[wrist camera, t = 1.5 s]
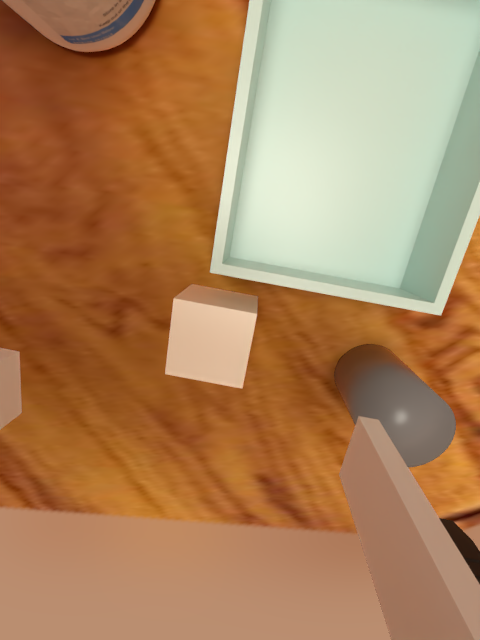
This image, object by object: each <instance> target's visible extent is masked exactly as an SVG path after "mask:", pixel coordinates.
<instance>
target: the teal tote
mask: <svg viewBox="0 0 480 640" xmlns="http://www.w3.org/2000/svg"><path fill="white" fill-rule="evenodd" d="M479 215H480V0H250V1H249V8H248V15H247V21H246V28H245V35H244V42H243V49H242V56H241V62H240V69H239V76H238V83H237V90H236V97H235V103H234V110H233V117H232V124H231V131H230V138H229V144H228V151H227V158H226V165H225V172H224V179H223V186H222V192H221V199H220V206H219V213H218V220H217V227H216V233H215V240H214V247H213V254H212V261H211V268H210V273H215V274H220V275H225V276H231V277H236V278H242V279H247V280H252V281H258V282H263V283H268V284H274V285H279V286H285V287H290V288H295V289H301V290H306V291H312V292H317V293H322V294H328V295H333V296H339V297H344V298H349V299H355V300H360V301H366V302H371V303H376V304H382V305H387V306H392V307H398V308H403V309H409V310H414V311H419V312H425V313H430V314H436V315H441V314H442V312H443V309H444V306H445V304H446V301H447V299H448V296H449V293H450V291H451V288H452V286H453V283H454V280H455V278H456V275H457V272H458V270H459V267H460V265H461V262H462V259H463V257H464V254H465V252H466V249H467V246H468V244H469V241H470V239H471V236H472V233H473V231H474V228H475V226H476V223H477V220H478V218H479Z"/></svg>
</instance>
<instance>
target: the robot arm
mask: <svg viewBox="0 0 480 640" xmlns="http://www.w3.org/2000/svg"><path fill="white" fill-rule="evenodd" d="M21 413H22V403H21V378H20V352H19V351H15V350H9V349H4V348H0V429H2V428H3V427H4V426H5V425H7V424H8V423H9V422H11V421H12V420H13V419H15V418H16V417H17V416H19V415H20V414H21ZM339 475H340V479H341V482H342V485H343V488H344V491H345V494H346V498H347V501H348V504H349V507H350V510H351V514H352V517H353V520H354V523H355V526H356V529H357V533H358V536H359V539H360V542H361V545H362V548H363V552H364V555H365V557H366V561H367V564H368V567H369V571H370V574H371V577H372V580H373V583H374V586H375V590H376V593H377V596H378V599H379V602H380V605H381V609H382V612H383V615H384V618H385V621H386V624H387V628H388V631H389V634H390V637H391V640H480V551H479V550H478V548H477V547H476V545H475V544H474V542H473V541H472V540H471V539H470V538H469V537H468V536H467V535H466V534H465V533H464V532H463V531H462V530H461V529H460V528H459V527H458V526H457V525H456V524H455V523H454V522H453V521H451V520H446V519H441V518H439V517H438V516H437V514H436V512H435V511H434V509H433V507H432V506H431V504H430V503H429V501H428V499H427V498H426V496H425V494H424V493H423V491H422V490H421V488H420V486H419V485H418V483H417V481H416V480H415V478H414V477H413V475H412V473H411V472H410V470H409V468H408V467H407V465H406V464H405V462H404V460H403V459H402V457H401V455H400V454H399V452H398V450H397V449H396V447H395V446H394V444H393V442H392V441H391V439H390V437H389V436H388V434H387V433H386V431H385V429H384V428H383V426H382V424H381V423H380V421H379V420H377V419H372V418H366V417H361V416H358V419H357V422H356V425H355V428H354V431H353V434H352V437H351V440H350V443H349V446H348V449H347V452H346V455H345V458H344V461H343V464H342V467H341V470H340V473H339Z"/></svg>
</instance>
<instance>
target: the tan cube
mask: <svg viewBox="0 0 480 640" xmlns="http://www.w3.org/2000/svg"><path fill="white" fill-rule="evenodd" d="M257 309H258V296H254V295H249V294H243V293H238V292H233V291H227V290H222V289H217V288H211V287H206V286H201V285H195V284H191V285H190V286H188V287H187V288H186V289H185V290H183V291H182V292H181V293H180V294H178V295H177V296H176V297H175V298H174V299H173V308H172V317H171V325H170V334H169V343H168V352H167V360H166V369H165V374H168V375H173V376H178V377H184V378H189V379H194V380H199V381H205V382H210V383H215V384H220V385H226V386H231V387H236V388H241V389H242V388H243V383H244V378H245V373H246V368H247V363H248V358H249V353H250V348H251V343H252V338H253V333H254V328H255V323H256V318H257Z"/></svg>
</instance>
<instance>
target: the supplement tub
mask: <svg viewBox="0 0 480 640" xmlns="http://www.w3.org/2000/svg"><path fill="white" fill-rule="evenodd" d="M2 1H3V2H5V3H6V4H7V5H8V6H9V7H10V8H11V9H13V10H14V11H15V12H16V13H17V14H18V15H20V16H21V17H22V18H23V19H24V20H25V21H27V22H28V23H29V24H30V25H32V26H33V27H34V28H35V29H36V30H37V31H39V32H40V33H41V34H42V35H44V36H45V37H46V38H48V39H49V40H51V41H52V42H54V43H56V44H58V45H60V46H63V47H65V48H68V49H71V50H74V51H80V52H96V51H103V50H108V49H111V48H113V47H116V46H118V45H120V44H122V43H123V42H125V41H127V40H128V39H129V38H130V37H132V36H133V35H134V34H135V33H136V32H137V31H138V30H139V28H140V27H141V26H142V25H143V23H144V22H145V20H146V19H147V17H148V16H149V14H150V11H151V9H152V7H153V5H154V3H155V0H2Z"/></svg>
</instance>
